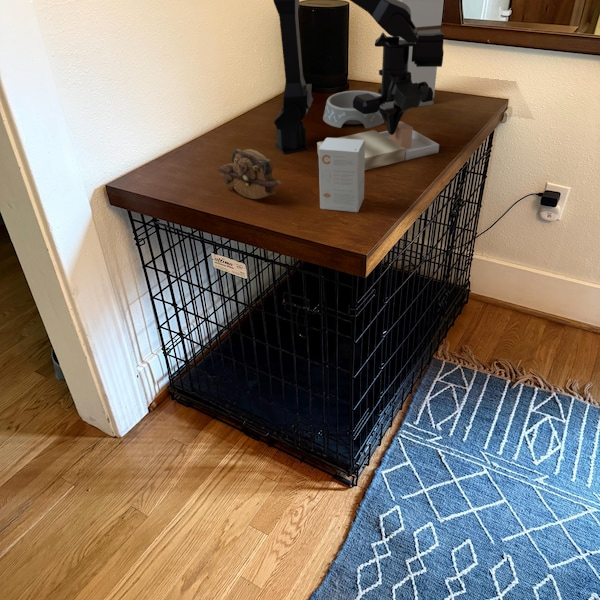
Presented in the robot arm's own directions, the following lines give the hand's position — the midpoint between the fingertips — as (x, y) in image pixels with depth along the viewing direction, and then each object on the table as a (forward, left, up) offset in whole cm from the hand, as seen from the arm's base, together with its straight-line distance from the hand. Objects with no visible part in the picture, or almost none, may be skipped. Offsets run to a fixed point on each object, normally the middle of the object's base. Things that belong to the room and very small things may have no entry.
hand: (391, 134), depth 135 cm
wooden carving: (-39, -6, -4) cm, 40 cm away
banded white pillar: (+24, +29, -4) cm, 38 cm away
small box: (-24, -19, -4) cm, 31 cm away
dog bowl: (+4, +25, -5) cm, 26 cm away
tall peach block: (+1, 0, -1) cm, 2 cm away
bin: (+4, 0, -4) cm, 6 cm away
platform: (-9, 0, -4) cm, 10 cm away
